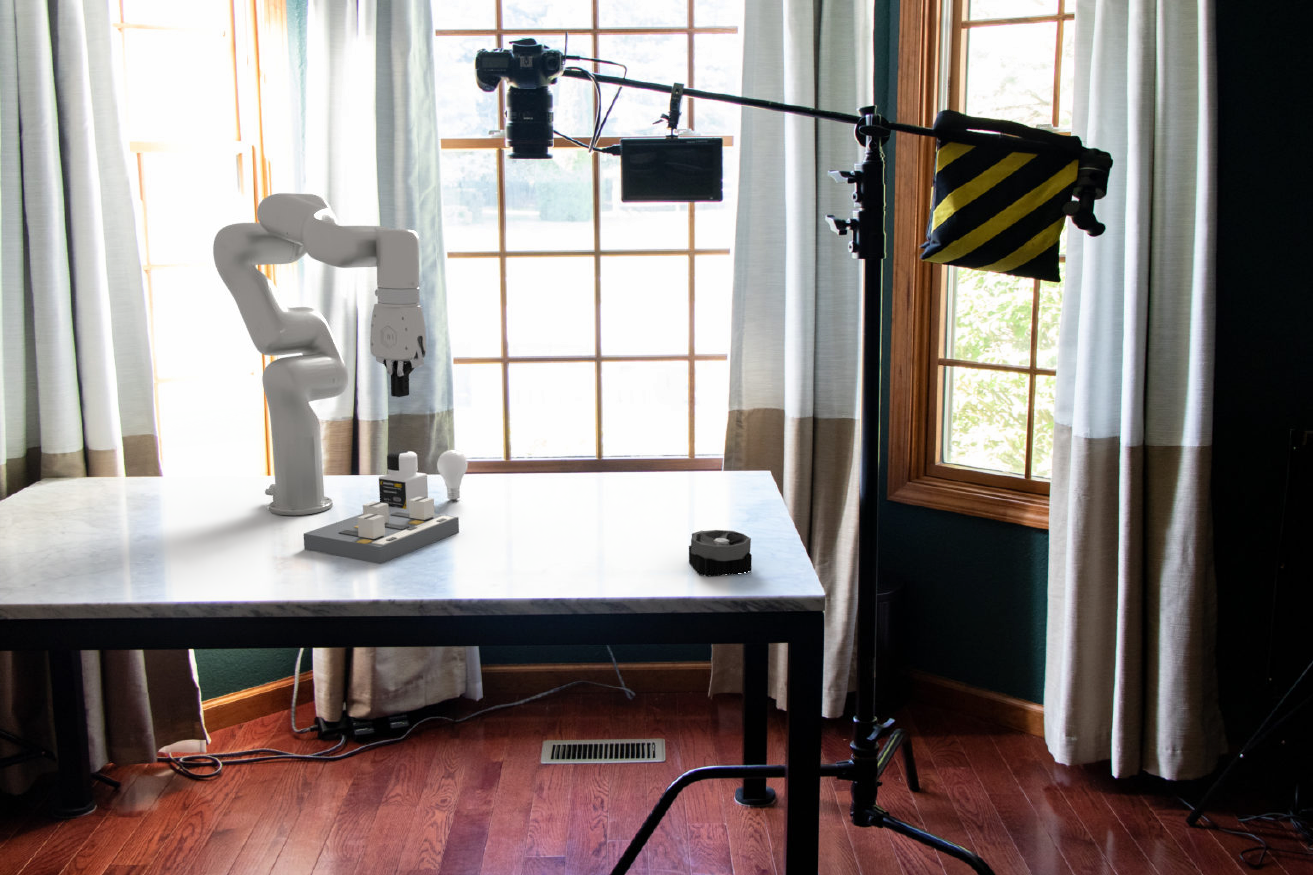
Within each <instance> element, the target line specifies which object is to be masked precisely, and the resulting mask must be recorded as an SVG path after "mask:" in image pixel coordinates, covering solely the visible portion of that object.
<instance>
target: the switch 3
mask: <svg viewBox="0 0 1313 875" xmlns="http://www.w3.org/2000/svg"><path fill="white" fill-rule="evenodd" d="M409 511H410V518H415V519H421V520H426V519H429V518H431V517H434V513H435V498H433V497H429V496H428V497H420V496H419V497H416V498H413V499H410V500H409Z"/></svg>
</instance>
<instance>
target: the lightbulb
mask: <svg viewBox="0 0 1313 875" xmlns="http://www.w3.org/2000/svg"><path fill="white" fill-rule="evenodd" d="M436 464H437V465H436V466H437V470H438V473H439V474H440V476H441V477H442V478H443V481H444V486H445V487H446V491H447V492H446V493H447V495H446V496H447V499H448V500H449V501H453V502H455V501H457V500H458V499H460V498H461V496H460V495H461V492H460V487H461V485H462V480H463V478H464V476H465V474H466V472H467V470H468V465H469V463H468V460H467V457H466V456H465V455H464V453H463V452H461V451H459V450H456V449H450V450H446V451H444V452H442V453H441V454H440V456H439V457H438V459H437V463H436Z"/></svg>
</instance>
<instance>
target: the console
mask: <svg viewBox="0 0 1313 875" xmlns="http://www.w3.org/2000/svg"><path fill="white" fill-rule="evenodd" d="M388 509H389V522H387V523H385V535H383V536H380V537H378V538H375V539H371V538H365V537H359V535H358V517H360V516H363V513H360V514H358V515H355V516H351V517H348V518H345V519H343V520H340V521H336V522H334V523H331V524H328V525H325V526H322V527H319V528H317V529H316V528H315V529H312V530H309V531H307V532H304V533H303V550H307V551H310V552H311V551H312V552H317V553H322V554H328V555H331V556H332V555H333V556H338V557H344V558H350V559H353V560H360V561H365V562H370V563H374V564H375V563H376V564H380V565H381V564H383V563H386V562H388V561H391V560H394V559H395V558H399V557H401V556H403V555H407V554H408V553H411V552H413V551H415V550H418V549H420V548H424V547H427V546H428V545H432V544H433V543H436V542H438V541H440V540H444V539H445V538H447V537H451V536H453V535H456V534H458V533H460V529H459V528H460V524H459V518H460V517H458V516H453V515H447V514H440V513H436V512H434V517H431V518H429V519H426V520H421V519H415V518H410V511H409V509H402V508H396V507H389V506H388Z"/></svg>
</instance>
